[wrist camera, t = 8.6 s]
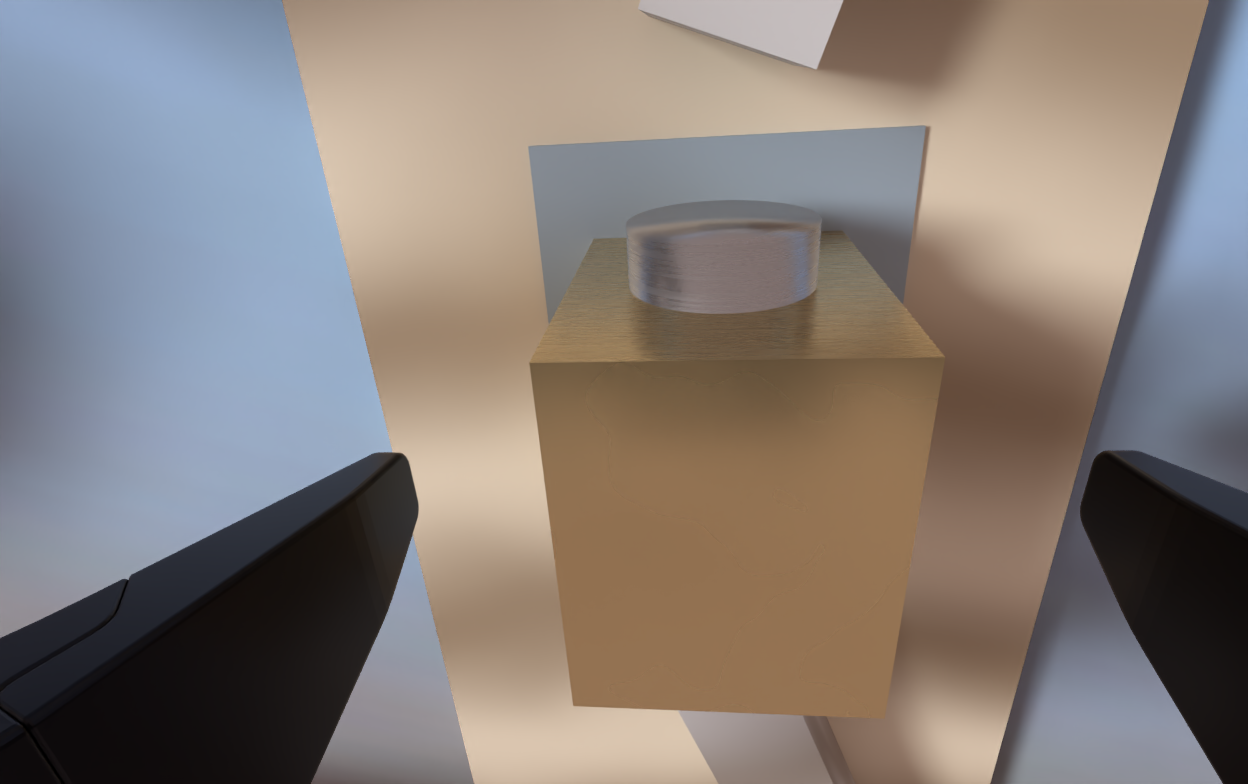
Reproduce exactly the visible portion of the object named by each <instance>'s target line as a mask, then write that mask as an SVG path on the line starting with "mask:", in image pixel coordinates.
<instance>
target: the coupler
mask: <svg viewBox="0 0 1248 784" xmlns="http://www.w3.org/2000/svg"><path fill="white" fill-rule="evenodd" d="M821 224H822V218H821V216H820V215H819V214H818V213H816V212H814V211H812V210H810V209H807V208H804V207H800V206H796V205H791V204H785V203H778V202H768V201H754V200H716V201H701V202H690V203H682V204H675V205H669V206H664V207H659V208H655V209H651V210H647V211H644V212H641V213H639V214H637V215H635V216H633V217H631V218H630V219H629V220H628V221H627V222H626V238H597V239H593V241H592V243H591V245H590V247H589V249H588V251H587V253H586V255H585V257H584V258H583V260H582V262H581V264H580V266H579V268H578V270H577V272H576V274H575V276H574V278H573V280H572V282H571V283H570V285H569V287H568V289H567V291H566V293H565V295H564V297H563V299H562V301H561V303H560V305H559V307H558V308H557V310H556V312H555V314H554V316H553V318H552V320H551V322H550V324H549V326H548V328H547V330H546V331H545V333H544V335H543V337H542V339H541V341H540V343H539V345H538V347H537V349H536V351H535V353H534V355H533V356H532V358H531V360H530V362H529V365H530V373H531V381H532V388H533V396H534V404H535V412H536V420H537V427H538V435H539V443H540V451H541V459H542V467H543V474H544V482H545V490H546V498H547V506H548V513H549V521H550V529H551V537H552V545H553V552H554V560H555V568H556V576H557V584H558V591H559V599H560V607H561V615H562V623H563V630H564V638H565V646H566V654H567V662H568V669H569V677H570V685H571V693H572V701H573V706H581V707H605V708H630V709H655V710H680V711H705V712H730V713H755V714H780V715H805V716H830V717H854V718H879V719H885V713H886V707H887V702H888V696H889V690H890V684H891V678H892V672H893V666H894V660H895V654H896V648H897V642H898V636H899V630H900V624H901V618H902V612H903V606H904V600H905V594H906V588H907V582H908V576H909V570H910V564H911V558H912V552H913V547H914V541H915V535H916V529H917V523H918V517H919V511H920V505H921V499H922V493H923V487H924V481H925V475H926V469H927V463H928V457H929V451H930V445H931V439H932V433H933V427H934V421H935V415H936V409H937V403H938V397H939V392H940V386H941V380H942V374H943V368H944V362H945V356H944V355H943V354H942V352H941V351H940V350H939V349H938V348H937V346H936V345H935V344H934V343H933V341H932V340H931V339H930V338H929V336H928V335H927V334H926V333H925V332H924V330H923V329H922V328H921V327H920V325H919V324H918V323H917V322H916V320H915V319H914V318H913V317H912V315H911V314H910V313H909V312H908V311H907V309H906V308H905V307H904V306H903V304H902V303H901V302H900V301H899V299H898V298H897V297H896V296H895V295H894V293H893V292H892V291H891V290H890V288H889V287H888V286H887V285H886V283H885V282H884V281H883V280H882V278H881V277H880V276H879V275H878V274H877V272H876V271H875V270H874V269H873V267H872V266H871V265H870V264H869V262H868V261H867V260H866V259H865V257H864V256H863V255H862V254H861V253H860V251H859V250H858V249H857V248H856V246H855V245H854V244H853V243H852V241H851V240H850V239H849V238H848V237H847V235H846V234H845V233H844V232H843V230H841V231H821Z"/></svg>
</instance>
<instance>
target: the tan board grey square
mask: <svg viewBox="0 0 1248 784" xmlns="http://www.w3.org/2000/svg"><path fill="white" fill-rule="evenodd" d="M282 2H283V7H284V11H285V15H286V19H287V23H288V27H289V31H290V35H291V39H292V43H293V47H294V51H295V55H296V60H297V64H298V68H299V72H300V76H301V80H302V84H303V88H304V92H305V96H306V100H307V104H308V108H309V113H310V117H311V121H312V125H313V129H314V133H315V137H316V141H317V145H318V149H319V153H320V157H321V161H322V166H323V170H324V174H325V178H326V182H327V186H328V190H329V194H330V198H331V202H332V206H333V210H334V214H335V219H336V223H337V227H338V231H339V235H340V239H341V243H342V247H343V251H344V255H345V259H346V263H347V267H348V272H349V276H350V280H351V284H352V288H353V292H354V296H355V300H356V304H357V308H358V312H359V316H360V320H361V325H362V329H363V333H364V337H365V341H366V345H367V349H368V353H369V357H370V361H371V365H372V369H373V373H374V377H375V382H376V386H377V390H378V394H379V398H380V402H381V406H382V410H383V414H384V418H385V422H386V426H387V430H388V435H389V439H390V443H391V447H392V451H393V452H398V453H402V454H404V455H405V456H406V457H407V459H408V461H409V464H410V468H411V472H412V476H413V481H414V485H415V489H416V494H417V498H418V503H419V513H418V519H417V522H416V525H415V528H414V532H413V536H414V541H415V545H416V549H417V553H418V557H419V561H420V565H421V569H422V573H423V577H424V581H425V585H426V589H427V594H428V598H429V602H430V606H431V610H432V614H433V618H434V622H435V626H436V630H437V634H438V638H439V642H440V647H441V651H442V655H443V659H444V663H445V667H446V671H447V675H448V679H449V683H450V687H451V691H452V695H453V700H454V704H455V708H456V712H457V716H458V720H459V724H460V728H461V732H462V736H463V740H464V744H465V748H466V752H467V757H468V761H469V765H470V769H471V773H472V777H473V781H474V784H990V783H991V779H992V775H993V772H994V768H995V765H996V761H997V758H998V754H999V750H1000V747H1001V743H1002V740H1003V736H1004V733H1005V729H1006V725H1007V722H1008V718H1009V715H1010V711H1011V707H1012V704H1013V700H1014V697H1015V693H1016V690H1017V686H1018V682H1019V679H1020V675H1021V672H1022V668H1023V665H1024V661H1025V657H1026V654H1027V650H1028V647H1029V643H1030V639H1031V636H1032V632H1033V629H1034V625H1035V622H1036V618H1037V614H1038V611H1039V607H1040V604H1041V600H1042V597H1043V593H1044V589H1045V586H1046V582H1047V579H1048V575H1049V571H1050V568H1051V564H1052V561H1053V557H1054V554H1055V550H1056V546H1057V543H1058V539H1059V536H1060V532H1061V528H1062V525H1063V521H1064V518H1065V514H1066V511H1067V507H1068V503H1069V500H1070V496H1071V493H1072V489H1073V486H1074V482H1075V478H1076V475H1077V471H1078V468H1079V464H1080V460H1081V457H1082V453H1083V450H1084V446H1085V443H1086V439H1087V435H1088V432H1089V428H1090V425H1091V421H1092V418H1093V414H1094V410H1095V407H1096V403H1097V400H1098V396H1099V392H1100V389H1101V385H1102V382H1103V378H1104V375H1105V371H1106V367H1107V364H1108V360H1109V357H1110V353H1111V350H1112V346H1113V342H1114V339H1115V335H1116V332H1117V328H1118V324H1119V321H1120V317H1121V314H1122V310H1123V307H1124V303H1125V299H1126V296H1127V292H1128V289H1129V285H1130V282H1131V278H1132V274H1133V271H1134V267H1135V264H1136V260H1137V256H1138V253H1139V249H1140V246H1141V242H1142V239H1143V235H1144V231H1145V228H1146V224H1147V221H1148V217H1149V214H1150V210H1151V206H1152V203H1153V199H1154V196H1155V192H1156V188H1157V185H1158V181H1159V178H1160V174H1161V171H1162V167H1163V163H1164V160H1165V156H1166V153H1167V149H1168V146H1169V142H1170V138H1171V135H1172V131H1173V128H1174V124H1175V120H1176V117H1177V113H1178V110H1179V106H1180V103H1181V99H1182V95H1183V92H1184V88H1185V85H1186V81H1187V78H1188V74H1189V70H1190V67H1191V63H1192V60H1193V56H1194V52H1195V49H1196V45H1197V42H1198V38H1199V35H1200V31H1201V27H1202V24H1203V20H1204V17H1205V13H1206V10H1207V6H1208V2H1209V0H282ZM716 200H754V201H768V202H778V203H785V204H791V205H796V206H800V207H804V208H807V209H810V210H812V211H814V212H816V213H818V214H819V215H820V216H821V218H822V224H821V231H841V230H843V232H844V233H845V234H846V235H847V237H848V238H849V239H850V240H851V241H852V243H853V244H854V245H855V246H856V248H857V249H858V250H859V251H860V253H861V254H862V255H863V256H864V257H865V259H866V260H867V261H868V262H869V264H870V265H871V266H872V267H873V269H874V270H875V271H876V272H877V274H878V275H879V276H880V277H881V278H882V280H883V281H884V282H885V283H886V285H887V286H888V287H889V288H890V290H891V291H892V292H893V293H894V295H895V296H896V297H897V298H898V299H899V301H900V302H901V303H902V304H903V306H904V307H905V308H906V309H907V311H908V312H909V313H910V314H911V315H912V317H913V318H914V319H915V320H916V322H917V323H918V324H919V325H920V327H921V328H922V329H923V330H924V332H925V333H926V334H927V335H928V336H929V338H930V339H931V340H932V341H933V343H934V344H935V345H936V346H937V348H938V349H939V350H940V351H941V352H942V354H943V355H944V356H945V362H944V368H943V374H942V380H941V386H940V392H939V397H938V403H937V409H936V415H935V421H934V427H933V433H932V439H931V445H930V451H929V457H928V463H927V469H926V475H925V481H924V487H923V493H922V499H921V505H920V511H919V517H918V523H917V529H916V535H915V541H914V547H913V552H912V558H911V564H910V570H909V576H908V582H907V588H906V594H905V600H904V606H903V612H902V618H901V624H900V630H899V636H898V642H897V648H896V654H895V660H894V666H893V672H892V678H891V684H890V690H889V696H888V702H887V707H886V713H885V719H879V718H854V717H830V716H805V715H780V714H755V713H730V712H705V711H680V710H655V709H630V708H605V707H581V706H573V701H572V693H571V685H570V677H569V669H568V662H567V654H566V646H565V638H564V630H563V623H562V615H561V607H560V599H559V591H558V584H557V576H556V568H555V560H554V552H553V545H552V537H551V529H550V521H549V513H548V506H547V498H546V490H545V482H544V474H543V467H542V459H541V451H540V443H539V435H538V427H537V420H536V412H535V404H534V396H533V388H532V381H531V373H530V365H529V362H530V360H531V358H532V356H533V355H534V353H535V351H536V349H537V347H538V345H539V343H540V341H541V339H542V337H543V335H544V333H545V331H546V330H547V328H548V326H549V324H550V322H551V320H552V318H553V316H554V314H555V312H556V310H557V308H558V307H559V305H560V303H561V301H562V299H563V297H564V295H565V293H566V291H567V289H568V287H569V285H570V283H571V282H572V280H573V278H574V276H575V274H576V272H577V270H578V268H579V266H580V264H581V262H582V260H583V258H584V257H585V255H586V253H587V251H588V249H589V247H590V245H591V243H592V241H593V239H597V238H626V222H627V221H628V220H629V219H630V218H631V217H633V216H635V215H637V214H639V213H641V212H644V211H647V210H651V209H655V208H659V207H664V206H669V205H675V204H682V203H690V202H701V201H716Z"/></svg>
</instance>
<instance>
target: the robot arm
mask: <svg viewBox="0 0 1248 784" xmlns="http://www.w3.org/2000/svg"><path fill="white" fill-rule="evenodd" d="M418 513H419V503H418V498H417V494H416V489H415V485H414V481H413V476H412V472H411V468H410V464H409V461H408V459H407V457H406V456H405V455H404V454H402V453H398V452H384V453H374V454H371V455H369V456H367V457H365V458H363V459H361V460H359V461H357V462H355V463H353V464H351V465H349V466H347V467H345V468H343V469H341V470H339V471H337V472H335V473H333V474H331V475H329V476H327V477H325V478H323V479H321V480H319V481H317V482H315V483H314V484H312V485H310V486H308V487H306V488H304V489H302V490H300V491H298V492H296V493H294V494H292V495H290V496H288V497H286V498H284V499H282V500H280V501H278V502H276V503H274V504H272V505H270V506H268V507H266V508H264V509H262V510H260V511H258V512H256V513H254V514H252V515H250V516H248V517H246V518H244V519H242V520H240V521H238V522H236V523H234V524H232V525H230V526H228V527H226V528H224V529H222V530H220V531H218V532H216V533H214V534H212V535H210V536H208V537H206V538H204V539H202V540H200V541H198V542H196V543H194V544H192V545H190V546H188V547H186V548H184V549H182V550H180V551H178V552H176V553H174V554H172V555H170V556H168V557H166V558H164V559H162V560H160V561H158V562H156V563H154V564H152V565H150V566H148V567H146V568H144V569H142V570H140V571H138V572H136V573H134V574H132V575H131V576H130V578H129V580H127V579H122V580H120V581H118V582H116V583H114V584H112V585H110V586H108V587H106V588H104V589H102V590H100V591H98V592H96V593H94V594H92V595H90V596H88V597H86V598H84V599H82V600H80V601H78V602H76V603H74V604H72V605H69V606H67V607H65V608H63V609H61V610H59V611H57V612H55V613H53V614H51V615H49V616H47V617H45V618H43V619H41V620H39V621H36V622H34V623H32V624H30V625H28V626H26V627H23V628H21V629H19V630H17V631H15V632H12V633H10V634H8V635H6V636H4V637H2V638H0V784H311V782H312V780H313V778H314V775H315V773H316V771H317V769H318V766H319V764H320V762H321V760H322V758H323V755H324V753H325V751H326V749H327V746H328V744H329V742H330V740H331V737H332V735H333V733H334V731H335V729H336V726H337V724H338V722H339V720H340V717H341V715H342V713H343V711H344V709H345V706H346V704H347V702H348V700H349V697H350V695H351V693H352V691H353V688H354V686H355V684H356V682H357V680H358V677H359V675H360V673H361V671H362V668H363V666H364V664H365V662H366V660H367V657H368V655H369V653H370V651H371V648H372V646H373V644H374V642H375V640H376V637H377V635H378V633H379V631H380V628H381V626H382V624H383V621H384V619H385V617H386V614H387V612H388V609H389V606H390V603H391V600H392V598H393V595H394V591H395V588H396V585H397V582H398V579H399V576H400V573H401V569H402V566H403V563H404V560H405V557H406V554H407V551H408V547H409V544H410V541H411V538H412V535H413V532H414V528H415V525H416V522H417V519H418ZM1080 516H1081V521H1082V524H1083V527H1084V529H1085V531H1086V533H1087V536H1088V538H1089V540H1090V542H1091V544H1092V547H1093V549H1094V551H1095V553H1096V555H1097V558H1098V560H1099V562H1100V564H1101V566H1102V568H1103V571H1104V573H1105V575H1106V577H1107V579H1108V582H1109V584H1110V586H1111V588H1112V590H1113V592H1114V595H1115V597H1116V599H1117V601H1118V603H1119V606H1120V608H1121V610H1122V612H1123V614H1124V616H1125V618H1126V620H1127V622H1128V624H1129V626H1130V628H1131V630H1132V632H1133V634H1134V635H1135V637H1136V639H1137V641H1138V642H1139V644H1140V646H1141V648H1142V649H1143V651H1144V653H1145V654H1146V656H1147V658H1148V659H1149V661H1150V663H1151V664H1152V666H1153V668H1154V669H1155V671H1156V673H1157V674H1158V676H1159V678H1160V680H1161V681H1162V683H1163V685H1164V686H1165V688H1166V690H1167V691H1168V693H1169V695H1170V696H1171V698H1172V700H1173V701H1174V703H1175V705H1176V706H1177V708H1178V710H1179V711H1180V713H1181V715H1182V716H1183V718H1184V720H1185V721H1186V723H1187V725H1188V726H1189V728H1190V730H1191V731H1192V733H1193V735H1194V736H1195V738H1196V740H1197V741H1198V743H1199V745H1200V746H1201V748H1202V750H1203V751H1204V753H1205V755H1206V756H1207V758H1208V760H1209V761H1210V763H1211V765H1212V766H1213V768H1214V770H1215V771H1216V773H1217V775H1218V776H1219V778H1220V780H1221V781H1222V783H1223V784H1248V493H1246V492H1243V491H1241V490H1238V489H1236V488H1233V487H1231V486H1228V485H1225V484H1223V483H1220V482H1218V481H1215V480H1212V479H1210V478H1207V477H1205V476H1202V475H1199V474H1197V473H1194V472H1192V471H1189V470H1187V469H1184V468H1181V467H1179V466H1176V465H1174V464H1171V463H1168V462H1166V461H1163V460H1161V459H1158V458H1156V457H1153V456H1150V455H1148V454H1145V453H1143V452H1139V451H1103V452H1101V453H1100V454H1098V455H1097V456H1096V458H1095V459H1094V461H1093V464H1092V467H1091V471H1090V474H1089V478H1088V481H1087V485H1086V488H1085V491H1084V495H1083V498H1082V502H1081V507H1080Z"/></svg>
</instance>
